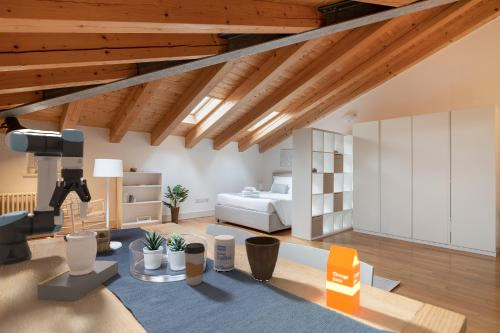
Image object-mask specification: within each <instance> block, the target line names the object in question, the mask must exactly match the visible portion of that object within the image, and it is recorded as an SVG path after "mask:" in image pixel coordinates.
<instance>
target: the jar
mask: <svg viewBox="0 0 500 333" xmlns="http://www.w3.org/2000/svg"><path fill="white" fill-rule="evenodd" d="M96 236H97V232H93V231H86V230H85V231H78V232H72V233H69V234H67V235H66V236H65V239H66V240H67V241H66V246H65V256H66V261H67V266H68V269H71V270H70V272H69V274H70V275H73V276H79V275H85V274H88V273H90V272H92V271H93V270H94V268H93V264H94V262H95V260H96V258H97V257H96V256H97V254H98V253H97V241H96ZM96 253H97V254H96Z"/></svg>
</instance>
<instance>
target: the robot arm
mask: <svg viewBox="0 0 500 333" xmlns="http://www.w3.org/2000/svg"><path fill="white" fill-rule="evenodd" d="M61 130H62V131H61V132H59V131H51V130H50V131H49V130H48V131H47V130H36V129H35V130H34V129H16V130H11V131H9V132H7V133H6V134H5V136H4V138H3V143H4V145H5V146H6V147H7V148H8V149H9V150H10V151H11V152H14V153H15V152H17V153H28V154H33V157H34V158H35V159H36V160H37V177H36V178H37V179H36V180H37V181H36V182H37V185H36V186H37V187H36V188H37V189H36V190H37V192H36V205H35V207H34V208H33V209H32V212H31V213H30V212H29V211H28V210H18V211H13V212H12V211H11V212H8V213H3V214H1V215H0V266H3V265H11V264H18V263H21V262H25V261H28V260H29V259H31V258H33V251H31V247H30V245H29V242H28V241H29V240H28V238H29V237H34V236H40V235H41V236H43V235H51V234H55V233H59V232H60V231H61V230H62V228H63V227H64V226H63V225H64V222H65V221H64V220H65V212H64V210H63V209H64V208H63V207H62V206H63V204H64V202H65V200H66V199H67V197H68V196H69V194H70V193H71V192H75V193H76V195H77V196H78V198H79V199H80V202H79V218H84V219H85V218H88V203H90V202H91V200H92V196H91V193H90V190H89V187H88V183H87V181H88V180H87V179H86V178H85V179H84V178H83V177H84V169H83V167H84V147H85V145H84V144H85V143H84V142H85V137H84V134H85V133H84V131H83V130H80V129H74V128H73V129H72V128H71V129H70V128H64V129H61ZM59 160H61V161H60V167H61V169H60V177H61V178H62V179H63V180H58V173H59V172H58V169H59V166H58V163H59Z"/></svg>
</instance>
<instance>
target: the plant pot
mask: <svg viewBox="0 0 500 333" xmlns="http://www.w3.org/2000/svg"><path fill="white" fill-rule="evenodd" d="M244 243H245V244H244V245H245V252H246V257H247V261H248V265H249V268H250V271H251V272H250V273H251V276H252V277H253V279H254V278H255V279H258V280H262V281H261V282H267V281H266V280H269V281H271V280H272V277H273V275H274V271H275V269H276V265H277V261H278V256H279V251H280V245H281V240H280V239H279V238H277V237H273V236H266V235H265V236H264V235H261V236H250V237H247V238H245V239H244ZM255 279H254V280H255Z"/></svg>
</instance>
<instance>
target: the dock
mask: <svg viewBox="0 0 500 333" xmlns="http://www.w3.org/2000/svg"><path fill="white" fill-rule="evenodd" d="M93 268H94V270H93V271H92V272H90V273H88V274H85V275H79V276H73V275H70V274H69V272H70V270H71V269H70V268H68V269H66V270H63V271H62V272H59V273H58V274H55V275H53V276H51V277H49V278H47V279H45V280H43V281H40V282H39V283H37V300H51V301H65V302H76V301H78V300H79V299H80V298H82V297H83V296H85V295H87V294H88V293H89V292H91V291H93V290H94V289H96V288H97V287H99V286H101V285H102V284H103V283H106V282H107V280H109V279H111V278H113V277H114V276H116V275H117V274H119V261H113V260H110V261H109V260H97V259H95V262H94V264H93Z"/></svg>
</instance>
